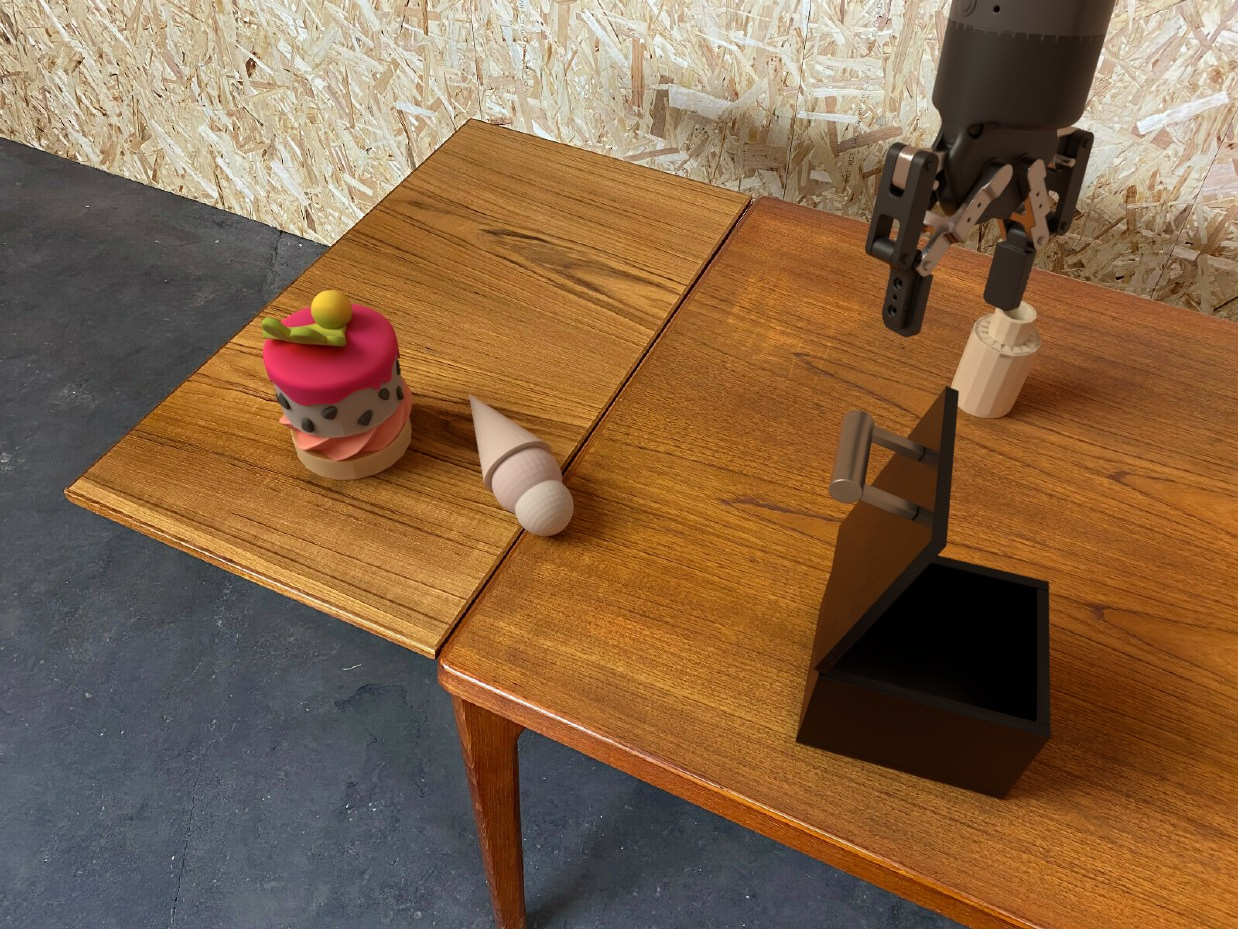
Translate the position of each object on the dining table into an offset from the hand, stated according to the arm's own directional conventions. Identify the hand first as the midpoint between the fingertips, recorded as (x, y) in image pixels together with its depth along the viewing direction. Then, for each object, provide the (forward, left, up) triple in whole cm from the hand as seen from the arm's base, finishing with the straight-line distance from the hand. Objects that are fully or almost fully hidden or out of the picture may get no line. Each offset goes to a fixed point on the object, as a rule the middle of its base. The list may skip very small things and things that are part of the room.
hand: (951, 318), depth 56 cm
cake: (+44, -1, -25) cm, 50 cm away
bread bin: (-4, +10, -25) cm, 27 cm away
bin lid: (+1, +10, -8) cm, 13 cm away
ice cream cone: (+29, 0, -25) cm, 38 cm away
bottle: (-8, -23, -25) cm, 34 cm away
